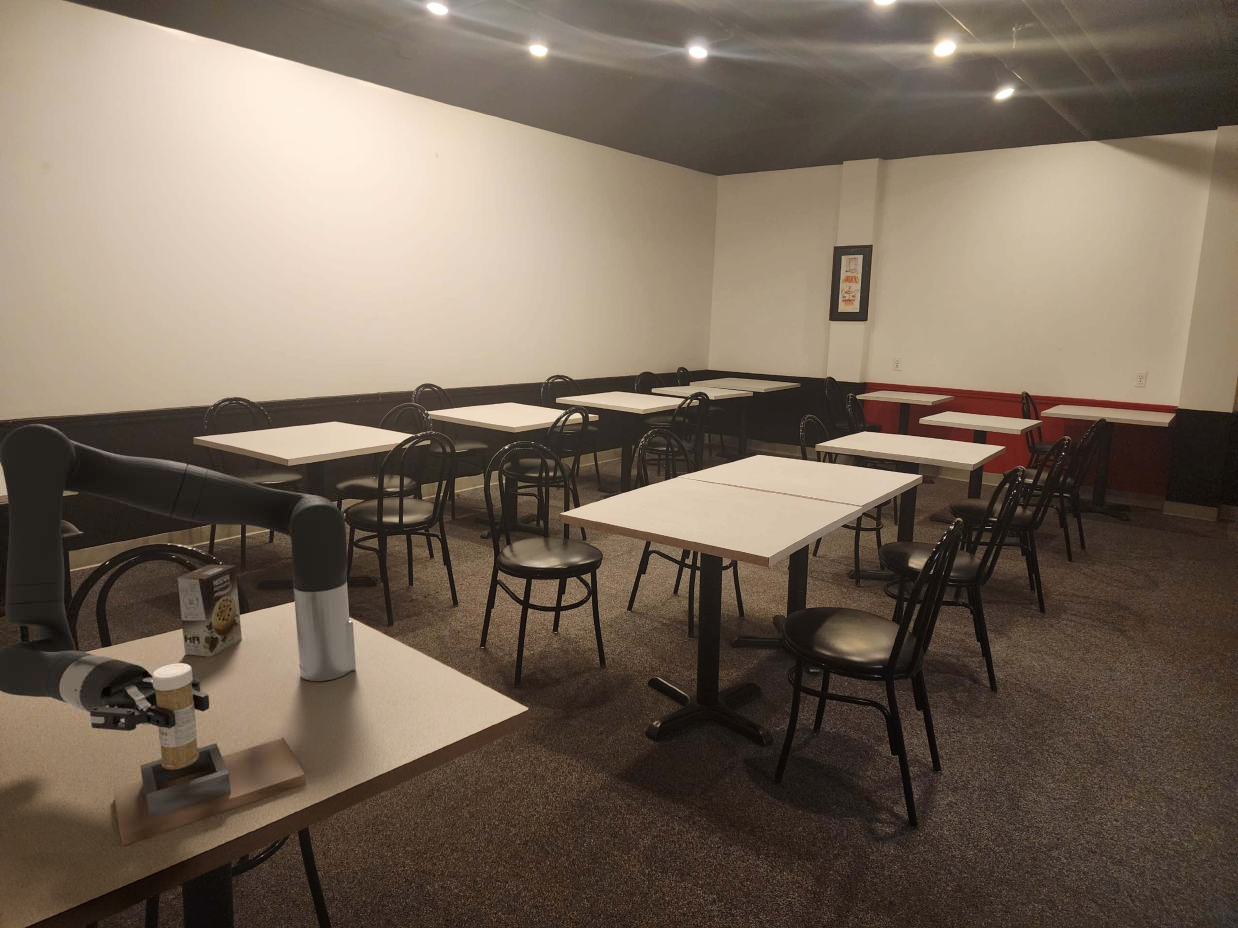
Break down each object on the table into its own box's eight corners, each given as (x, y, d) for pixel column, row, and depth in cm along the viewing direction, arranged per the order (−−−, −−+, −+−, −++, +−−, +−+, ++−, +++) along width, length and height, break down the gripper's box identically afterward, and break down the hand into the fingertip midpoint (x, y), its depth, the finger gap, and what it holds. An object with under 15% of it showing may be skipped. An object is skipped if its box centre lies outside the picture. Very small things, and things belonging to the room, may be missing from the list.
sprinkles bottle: (156, 762, 103) (146, 669, 100) (192, 748, 106) (183, 658, 103) (169, 775, 100) (159, 680, 97) (205, 760, 103) (197, 668, 101)
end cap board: (284, 746, 117) (282, 719, 116) (305, 783, 107) (303, 754, 107) (114, 798, 104) (110, 769, 103) (121, 845, 94) (117, 813, 94)
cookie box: (212, 657, 148) (204, 579, 145) (183, 654, 150) (175, 576, 147) (243, 639, 157) (236, 564, 154) (216, 636, 158) (209, 562, 156)
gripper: (48, 682, 100) (135, 709, 93) (151, 642, 113) (234, 663, 106) (54, 734, 101) (141, 765, 94) (155, 689, 114) (238, 713, 107)
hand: (189, 711), depth 100 cm, fingers closed on sprinkles bottle, 4 cm apart
